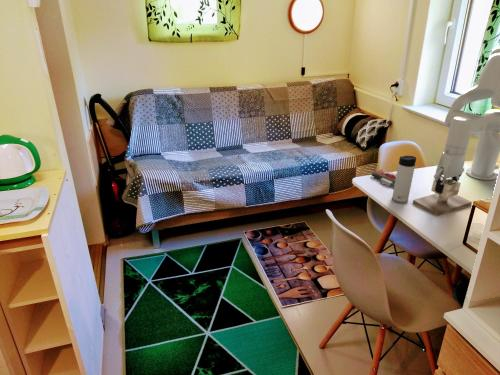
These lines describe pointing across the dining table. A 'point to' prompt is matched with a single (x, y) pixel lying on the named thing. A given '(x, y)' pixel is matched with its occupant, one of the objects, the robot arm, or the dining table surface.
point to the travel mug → (403, 179)
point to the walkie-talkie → (385, 177)
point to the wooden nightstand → (448, 187)
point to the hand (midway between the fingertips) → (445, 190)
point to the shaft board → (441, 203)
